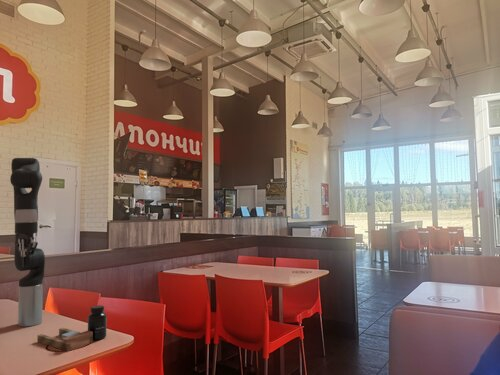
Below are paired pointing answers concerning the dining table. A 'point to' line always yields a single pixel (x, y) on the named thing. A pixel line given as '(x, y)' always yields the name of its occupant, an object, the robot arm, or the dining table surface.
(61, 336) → the block
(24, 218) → the robot arm
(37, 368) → the dining table surface
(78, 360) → the dining table surface
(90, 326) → the supplement bottle
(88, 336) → the track
